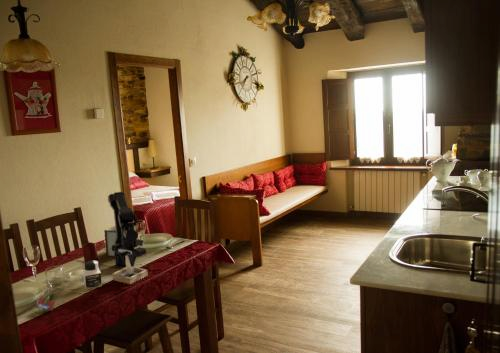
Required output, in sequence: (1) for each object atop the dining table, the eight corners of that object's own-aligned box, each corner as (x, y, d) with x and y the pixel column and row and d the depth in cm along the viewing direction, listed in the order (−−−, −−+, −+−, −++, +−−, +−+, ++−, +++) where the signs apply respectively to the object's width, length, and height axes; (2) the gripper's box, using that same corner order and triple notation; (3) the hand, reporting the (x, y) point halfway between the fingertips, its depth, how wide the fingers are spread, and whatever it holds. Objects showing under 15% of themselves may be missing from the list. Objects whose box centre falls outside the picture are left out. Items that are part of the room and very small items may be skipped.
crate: (130, 284, 203) (129, 278, 203) (112, 279, 209) (112, 273, 209) (147, 276, 214) (147, 270, 213) (130, 271, 220) (130, 265, 219)
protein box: (137, 249, 254) (135, 224, 251) (119, 257, 240) (118, 231, 237) (123, 247, 258) (122, 222, 255) (105, 255, 244) (103, 229, 242)
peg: (125, 273, 209) (124, 256, 208) (127, 271, 213) (126, 254, 211) (132, 273, 209) (131, 256, 208) (134, 270, 213) (133, 254, 211)
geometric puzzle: (62, 301, 182) (49, 288, 180) (55, 309, 175) (42, 295, 174) (49, 311, 182) (37, 298, 181) (42, 319, 175) (29, 305, 174)
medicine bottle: (86, 289, 199) (84, 265, 197) (84, 284, 205) (82, 260, 203) (101, 286, 202) (100, 262, 200) (99, 281, 208) (97, 258, 206)
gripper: (153, 234, 210) (154, 263, 213) (126, 229, 219) (128, 257, 222) (136, 240, 201) (138, 271, 203) (109, 234, 210) (111, 264, 213)
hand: (129, 265), depth 211 cm, fingers closed on peg, 4 cm apart
